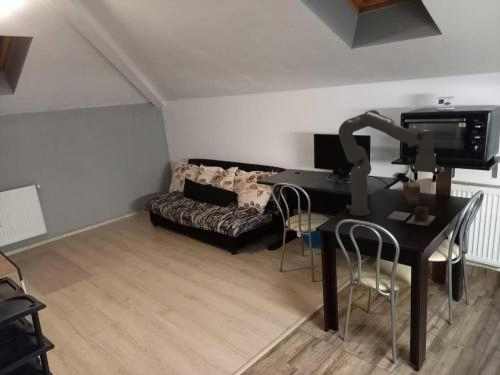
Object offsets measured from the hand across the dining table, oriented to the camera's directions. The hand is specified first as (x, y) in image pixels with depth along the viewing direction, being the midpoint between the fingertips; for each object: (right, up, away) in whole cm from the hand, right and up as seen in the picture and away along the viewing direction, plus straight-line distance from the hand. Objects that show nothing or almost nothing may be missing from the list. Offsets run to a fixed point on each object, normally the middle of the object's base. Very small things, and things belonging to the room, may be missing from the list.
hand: (424, 181), depth 218 cm
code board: (+1, -23, +7) cm, 24 cm away
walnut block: (+1, -22, +7) cm, 24 cm away
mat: (-9, -21, +16) cm, 28 cm away
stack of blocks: (+11, -12, +44) cm, 47 cm away
